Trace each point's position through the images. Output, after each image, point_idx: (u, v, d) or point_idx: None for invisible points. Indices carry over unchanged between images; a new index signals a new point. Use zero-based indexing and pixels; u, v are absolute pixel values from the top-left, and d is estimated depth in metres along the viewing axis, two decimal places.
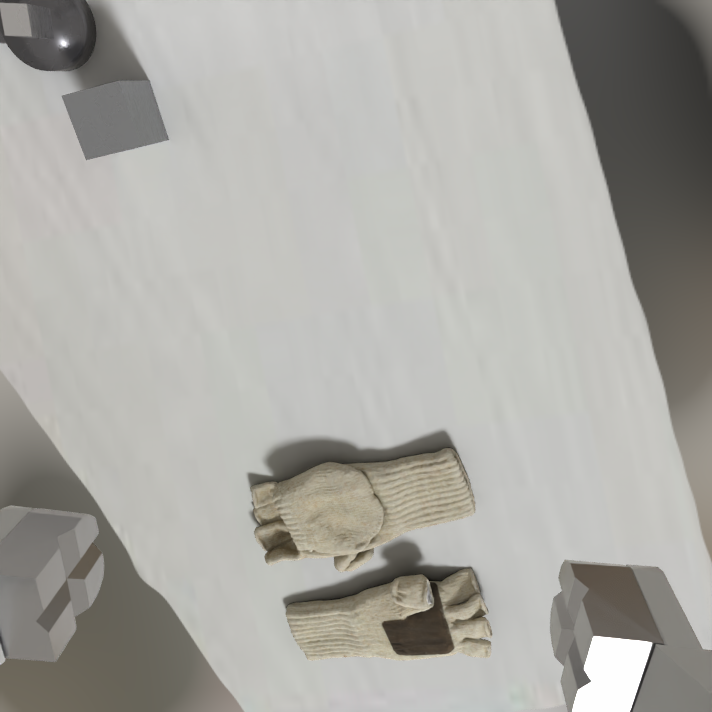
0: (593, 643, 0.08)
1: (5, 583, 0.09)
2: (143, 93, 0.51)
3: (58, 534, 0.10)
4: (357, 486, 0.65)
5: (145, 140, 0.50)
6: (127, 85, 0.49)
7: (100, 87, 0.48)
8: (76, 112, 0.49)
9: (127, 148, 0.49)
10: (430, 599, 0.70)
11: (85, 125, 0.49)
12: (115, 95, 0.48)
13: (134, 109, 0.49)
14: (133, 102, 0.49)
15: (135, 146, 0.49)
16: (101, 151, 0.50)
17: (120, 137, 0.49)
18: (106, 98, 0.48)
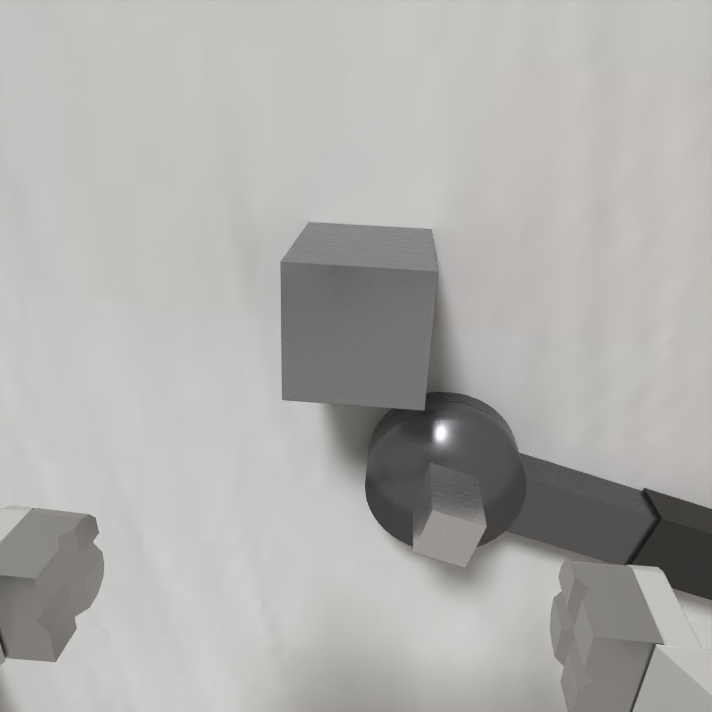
0: (593, 643, 0.08)
1: (5, 583, 0.09)
2: None
3: (58, 534, 0.10)
4: None
5: None
6: None
7: (327, 399, 0.21)
8: (406, 372, 0.21)
9: (317, 267, 0.19)
10: None
11: (399, 342, 0.20)
12: (300, 377, 0.21)
13: None
14: None
15: (295, 265, 0.19)
16: (386, 279, 0.19)
17: (325, 295, 0.20)
18: (323, 377, 0.21)
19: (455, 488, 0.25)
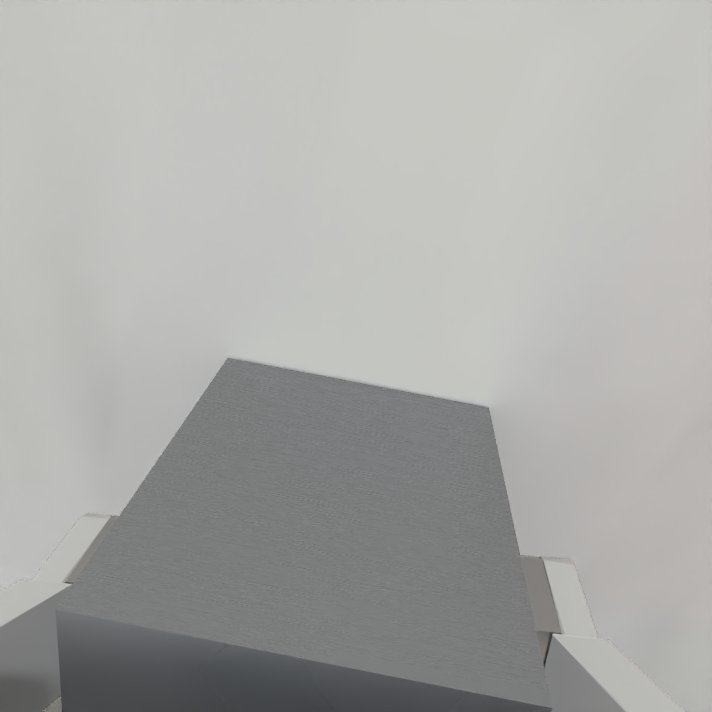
0: None
1: None
2: None
3: None
4: None
5: None
6: None
7: None
8: None
9: (172, 640, 0.06)
10: None
11: None
12: None
13: None
14: None
15: (102, 626, 0.06)
16: (384, 699, 0.06)
17: (193, 704, 0.06)
18: None
19: None
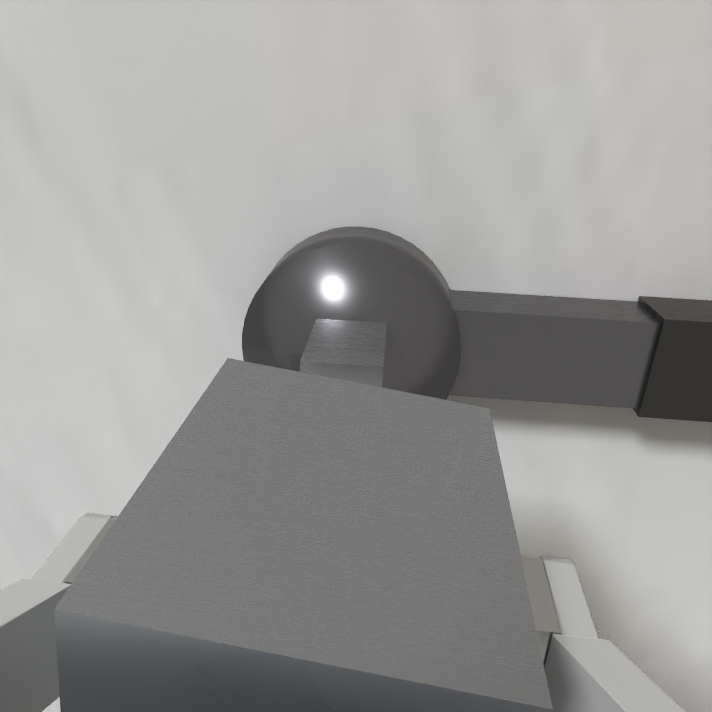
0: None
1: None
2: None
3: None
4: None
5: None
6: None
7: None
8: None
9: (170, 640, 0.06)
10: None
11: None
12: None
13: None
14: None
15: (100, 626, 0.06)
16: (384, 701, 0.06)
17: (191, 705, 0.06)
18: None
19: (346, 336, 0.18)
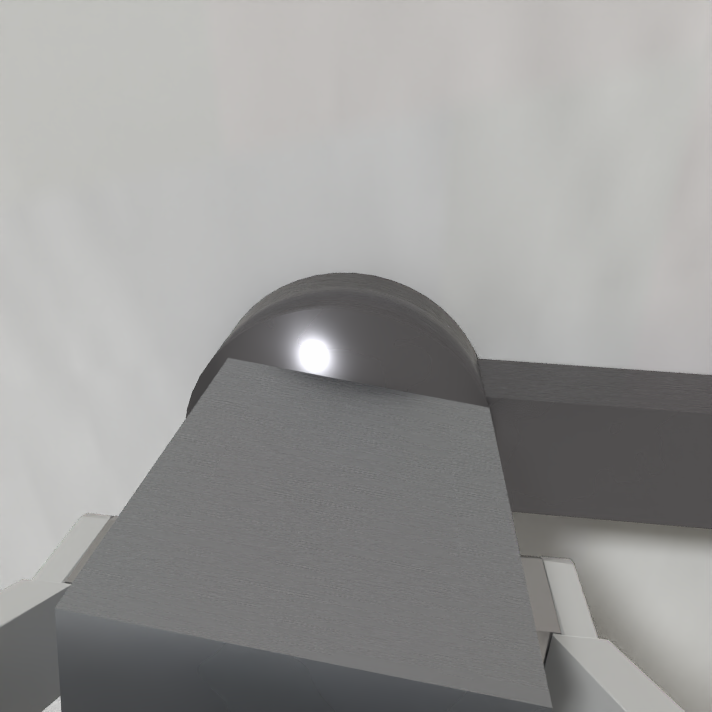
0: None
1: None
2: None
3: None
4: None
5: None
6: None
7: None
8: None
9: (171, 639, 0.06)
10: None
11: None
12: None
13: None
14: None
15: (101, 624, 0.06)
16: (384, 699, 0.06)
17: (191, 704, 0.06)
18: None
19: None
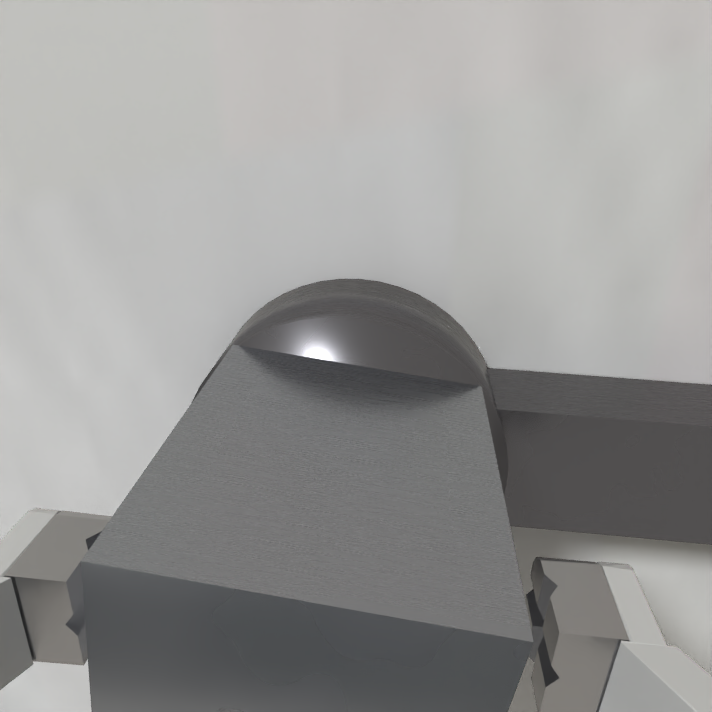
0: (559, 639, 0.08)
1: (35, 586, 0.09)
2: None
3: (86, 537, 0.10)
4: None
5: None
6: None
7: None
8: None
9: (186, 587, 0.07)
10: None
11: None
12: None
13: None
14: None
15: (123, 575, 0.07)
16: (381, 639, 0.07)
17: (206, 648, 0.07)
18: None
19: None
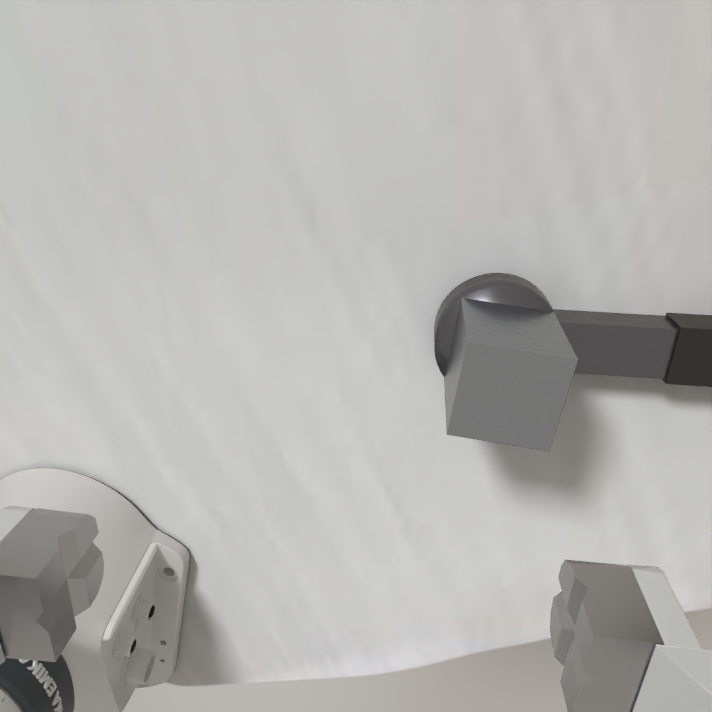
0: (593, 643, 0.08)
1: (5, 583, 0.09)
2: (448, 379, 0.33)
3: (58, 534, 0.10)
4: None
5: (464, 339, 0.29)
6: (447, 414, 0.31)
7: (480, 437, 0.29)
8: (541, 424, 0.29)
9: (493, 348, 0.27)
10: None
11: (540, 403, 0.28)
12: (463, 420, 0.29)
13: (454, 384, 0.30)
14: (452, 391, 0.30)
15: (477, 345, 0.27)
16: (540, 360, 0.27)
17: (494, 367, 0.28)
18: (480, 422, 0.29)
19: None
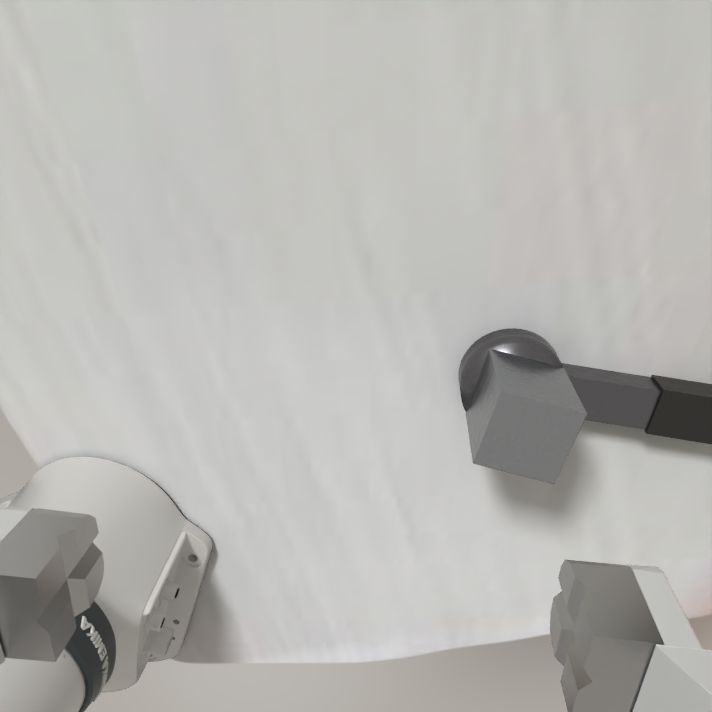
0: (593, 643, 0.08)
1: (5, 583, 0.09)
2: (473, 416, 0.39)
3: (58, 534, 0.10)
4: None
5: (496, 387, 0.35)
6: (473, 446, 0.37)
7: (500, 468, 0.36)
8: (551, 461, 0.35)
9: (520, 398, 0.34)
10: None
11: (552, 445, 0.35)
12: (488, 453, 0.36)
13: (483, 423, 0.36)
14: (479, 428, 0.37)
15: (508, 395, 0.34)
16: (557, 412, 0.34)
17: (519, 413, 0.34)
18: (502, 455, 0.36)
19: None
